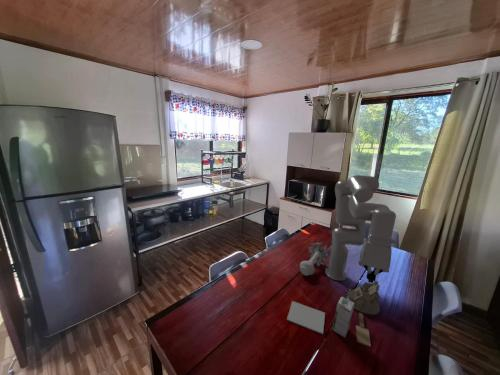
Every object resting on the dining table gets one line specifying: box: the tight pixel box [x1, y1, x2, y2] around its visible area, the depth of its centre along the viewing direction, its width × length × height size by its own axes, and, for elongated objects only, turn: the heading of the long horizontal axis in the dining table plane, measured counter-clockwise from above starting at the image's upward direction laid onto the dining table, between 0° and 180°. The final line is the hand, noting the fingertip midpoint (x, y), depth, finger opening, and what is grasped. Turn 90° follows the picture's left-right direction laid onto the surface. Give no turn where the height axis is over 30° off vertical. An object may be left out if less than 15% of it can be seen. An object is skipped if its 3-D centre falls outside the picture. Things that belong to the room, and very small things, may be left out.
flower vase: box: [299, 241, 329, 277], centre depth 133 cm, size 13×18×25 cm
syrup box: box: [331, 296, 355, 338], centre depth 89 cm, size 6×6×14 cm
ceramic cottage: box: [346, 280, 381, 315], centre depth 106 cm, size 16×16×15 cm
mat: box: [286, 300, 326, 335], centre depth 96 cm, size 12×16×1 cm
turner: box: [355, 312, 372, 348], centre depth 92 cm, size 16×5×1 cm, turn 156°
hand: (370, 280), depth 84 cm, fingers closed
